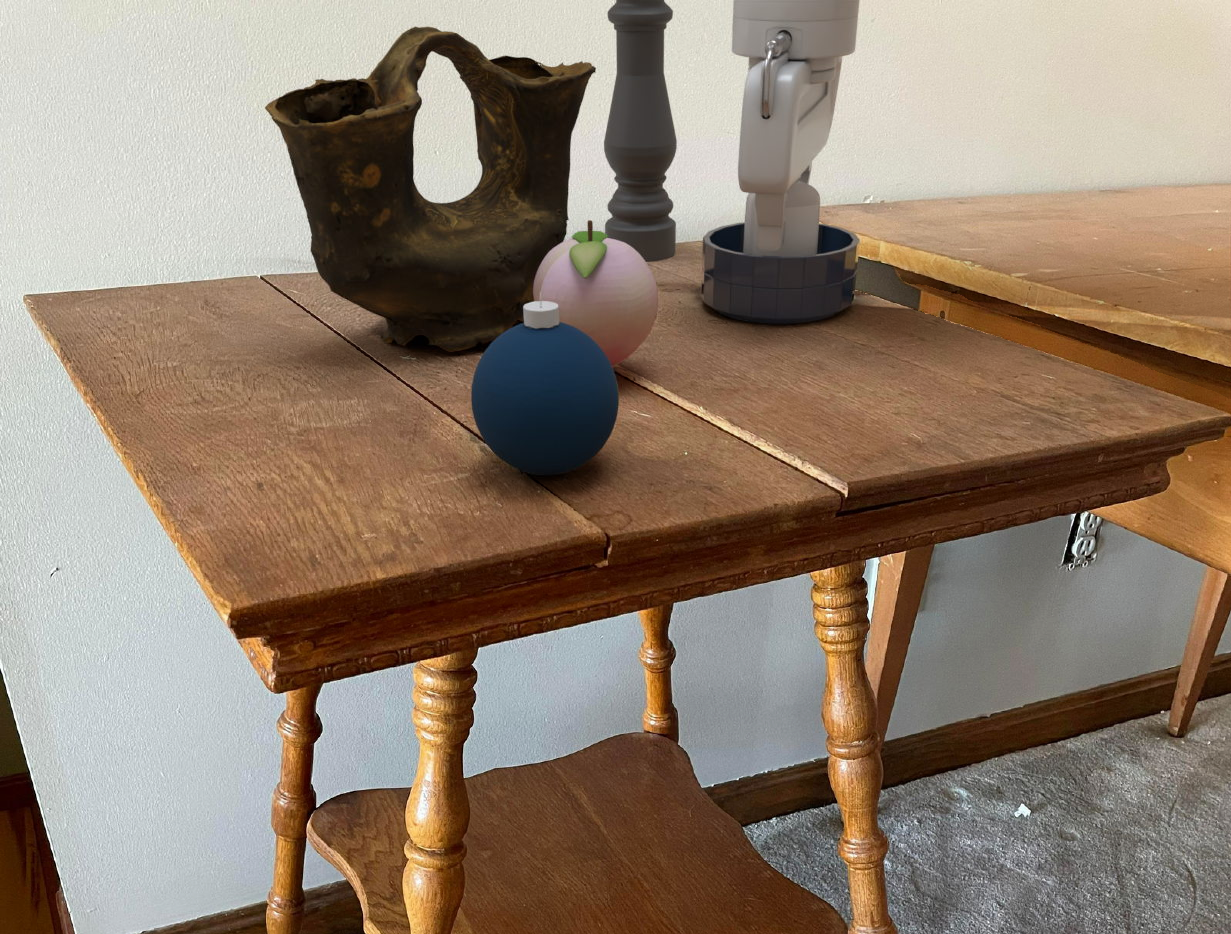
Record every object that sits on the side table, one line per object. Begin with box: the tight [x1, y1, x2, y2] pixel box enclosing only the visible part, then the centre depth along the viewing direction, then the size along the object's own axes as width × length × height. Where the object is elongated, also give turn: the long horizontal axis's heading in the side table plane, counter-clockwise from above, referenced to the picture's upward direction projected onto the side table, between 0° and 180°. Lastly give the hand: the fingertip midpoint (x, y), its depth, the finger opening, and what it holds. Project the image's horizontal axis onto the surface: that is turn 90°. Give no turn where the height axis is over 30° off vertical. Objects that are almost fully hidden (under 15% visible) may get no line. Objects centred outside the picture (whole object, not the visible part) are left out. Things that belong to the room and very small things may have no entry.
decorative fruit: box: [533, 219, 659, 368], centre depth 85 cm, size 9×8×10 cm
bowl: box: [701, 221, 861, 325], centre depth 100 cm, size 12×12×5 cm
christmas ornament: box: [470, 293, 620, 476], centre depth 71 cm, size 8×8×10 cm
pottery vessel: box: [264, 26, 597, 353], centre depth 90 cm, size 25×11×20 cm, turn 131°
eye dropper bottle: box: [743, 175, 821, 256], centre depth 97 cm, size 4×6×12 cm
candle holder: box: [603, 0, 678, 263], centre depth 104 cm, size 6×6×25 cm
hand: (781, 234), depth 98 cm, fingers open, 8 cm apart
